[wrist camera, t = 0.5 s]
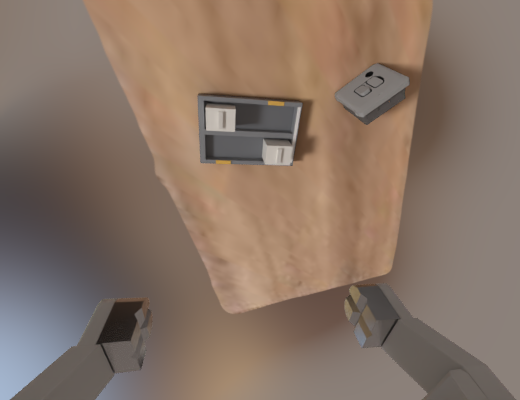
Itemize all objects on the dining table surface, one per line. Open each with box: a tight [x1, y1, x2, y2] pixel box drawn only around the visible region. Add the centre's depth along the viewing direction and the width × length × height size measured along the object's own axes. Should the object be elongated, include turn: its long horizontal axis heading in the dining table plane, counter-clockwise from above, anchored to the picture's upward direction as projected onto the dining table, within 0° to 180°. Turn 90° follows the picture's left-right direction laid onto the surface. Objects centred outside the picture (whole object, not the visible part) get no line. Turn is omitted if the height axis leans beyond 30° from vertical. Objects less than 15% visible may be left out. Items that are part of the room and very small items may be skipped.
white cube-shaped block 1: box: [205, 103, 236, 132], centre depth 43 cm, size 4×5×5 cm
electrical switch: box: [335, 63, 410, 125], centre depth 43 cm, size 9×5×9 cm, turn 127°
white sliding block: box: [262, 139, 293, 165], centre depth 47 cm, size 4×5×5 cm
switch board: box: [198, 94, 303, 166], centre depth 47 cm, size 12×19×3 cm, turn 86°
